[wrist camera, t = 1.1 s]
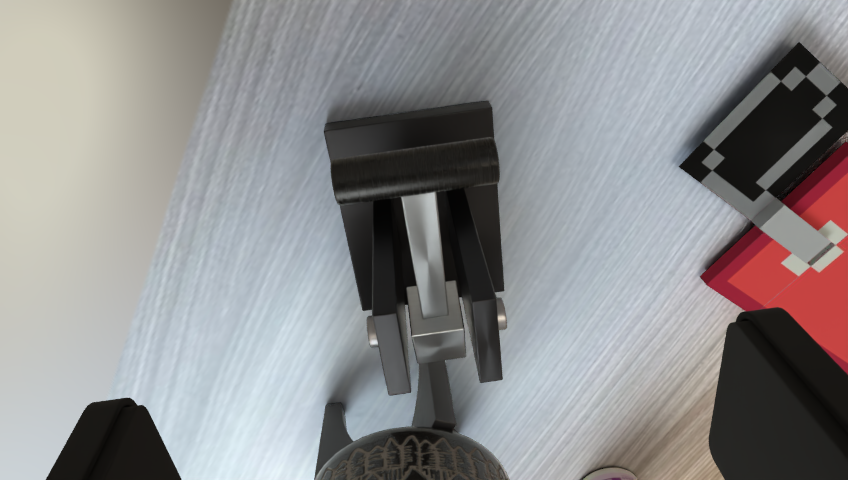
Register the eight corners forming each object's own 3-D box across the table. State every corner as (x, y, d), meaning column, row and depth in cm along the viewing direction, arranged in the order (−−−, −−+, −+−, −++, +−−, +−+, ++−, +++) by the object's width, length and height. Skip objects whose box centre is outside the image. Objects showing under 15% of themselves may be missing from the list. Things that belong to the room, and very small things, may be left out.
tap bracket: (325, 123, 33) (300, 241, 22) (488, 100, 33) (544, 207, 22) (362, 300, 40) (358, 461, 29) (501, 280, 40) (550, 434, 29)
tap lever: (329, 138, 19) (331, 197, 18) (488, 116, 19) (503, 173, 18) (382, 321, 29) (386, 368, 27) (487, 306, 29) (497, 353, 27)
